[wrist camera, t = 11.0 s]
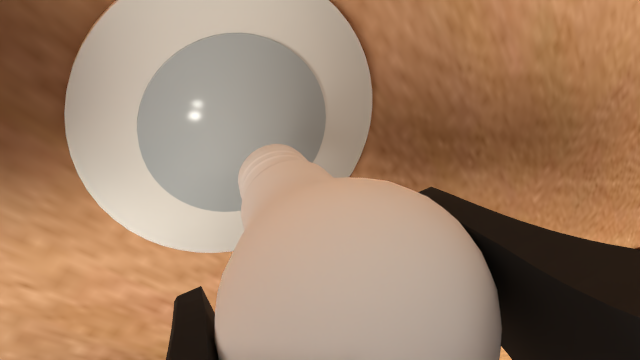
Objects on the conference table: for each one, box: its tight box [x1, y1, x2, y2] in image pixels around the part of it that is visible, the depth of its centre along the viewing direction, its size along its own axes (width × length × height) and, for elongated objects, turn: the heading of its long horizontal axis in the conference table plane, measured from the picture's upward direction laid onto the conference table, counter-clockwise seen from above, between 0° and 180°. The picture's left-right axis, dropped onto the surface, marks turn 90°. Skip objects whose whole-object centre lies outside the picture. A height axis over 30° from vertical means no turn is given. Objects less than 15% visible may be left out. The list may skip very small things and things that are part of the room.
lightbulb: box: [215, 144, 502, 360], centre depth 12 cm, size 6×6×11 cm
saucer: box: [64, 0, 372, 253], centre depth 20 cm, size 13×13×1 cm
